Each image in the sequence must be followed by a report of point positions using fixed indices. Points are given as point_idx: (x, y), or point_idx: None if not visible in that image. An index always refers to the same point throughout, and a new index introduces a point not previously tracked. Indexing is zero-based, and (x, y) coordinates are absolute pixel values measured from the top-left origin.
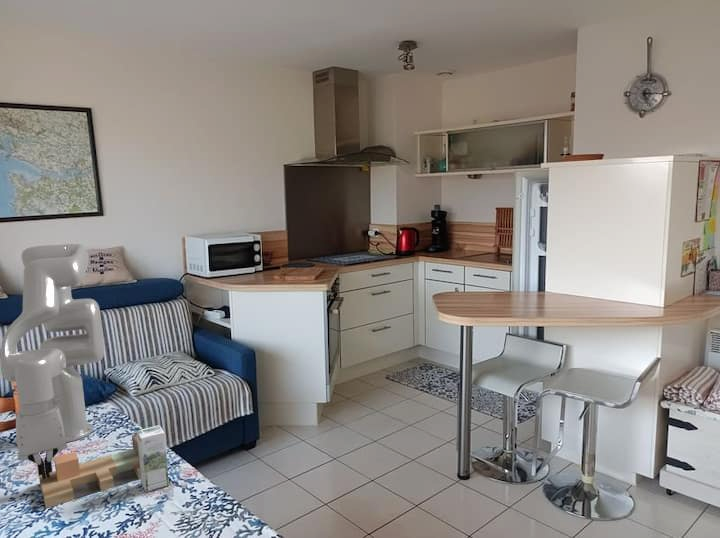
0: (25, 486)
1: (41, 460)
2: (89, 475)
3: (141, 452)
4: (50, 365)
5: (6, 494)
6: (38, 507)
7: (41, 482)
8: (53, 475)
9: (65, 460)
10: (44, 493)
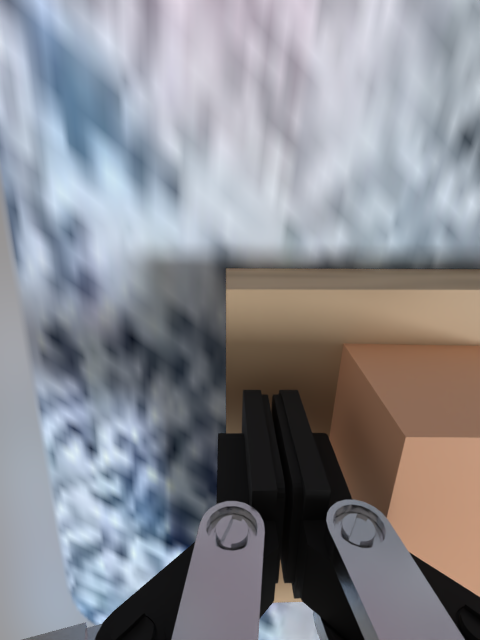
0: (132, 220)
1: (262, 608)
2: None
3: None
4: None
5: (14, 262)
6: (196, 522)
7: (231, 419)
8: (320, 365)
9: (460, 575)
10: None
